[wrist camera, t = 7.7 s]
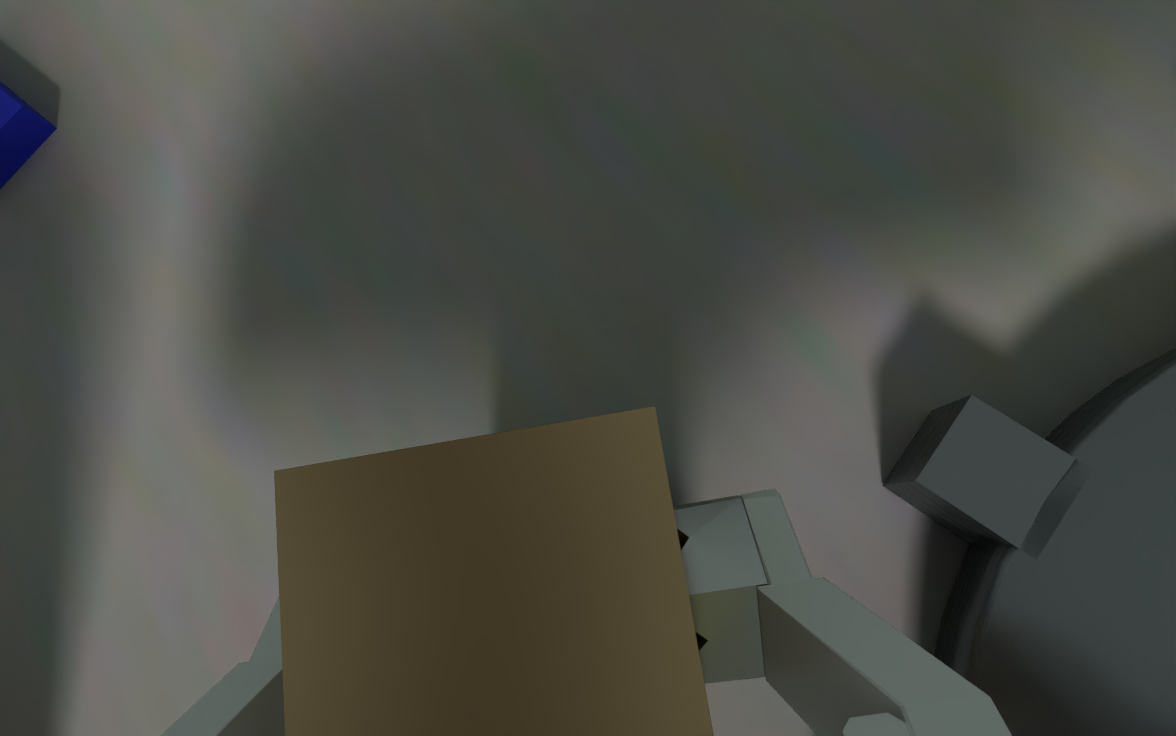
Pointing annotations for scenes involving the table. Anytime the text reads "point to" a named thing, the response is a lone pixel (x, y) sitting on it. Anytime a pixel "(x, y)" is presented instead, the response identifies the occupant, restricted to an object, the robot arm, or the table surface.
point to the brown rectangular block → (490, 589)
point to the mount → (18, 132)
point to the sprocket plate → (1060, 556)
